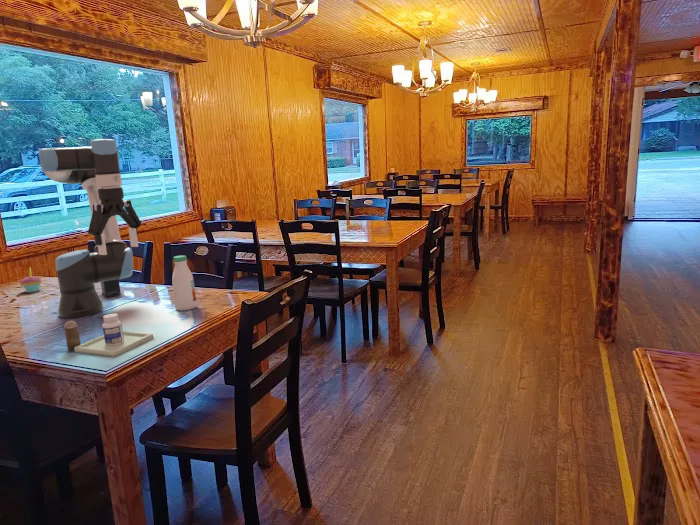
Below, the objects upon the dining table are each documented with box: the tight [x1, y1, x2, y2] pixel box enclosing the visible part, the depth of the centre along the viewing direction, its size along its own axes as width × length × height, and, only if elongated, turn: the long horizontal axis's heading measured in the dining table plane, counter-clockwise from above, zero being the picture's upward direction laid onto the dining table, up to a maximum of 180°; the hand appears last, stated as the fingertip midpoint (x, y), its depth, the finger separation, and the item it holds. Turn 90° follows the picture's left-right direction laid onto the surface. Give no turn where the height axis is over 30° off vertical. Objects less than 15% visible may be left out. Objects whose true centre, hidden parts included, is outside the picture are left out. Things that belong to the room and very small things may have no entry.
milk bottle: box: [171, 255, 197, 311], centre depth 188 cm, size 8×8×20 cm
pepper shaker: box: [64, 320, 82, 352], centre depth 152 cm, size 4×4×9 cm
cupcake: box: [19, 267, 43, 293], centre depth 231 cm, size 9×8×12 cm
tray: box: [74, 330, 154, 358], centre depth 154 cm, size 16×16×2 cm
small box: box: [100, 279, 121, 298], centre depth 218 cm, size 11×6×10 cm, turn 34°
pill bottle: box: [102, 313, 124, 346], centre depth 153 cm, size 5×5×9 cm
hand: (119, 250), depth 170 cm, fingers open, 13 cm apart
